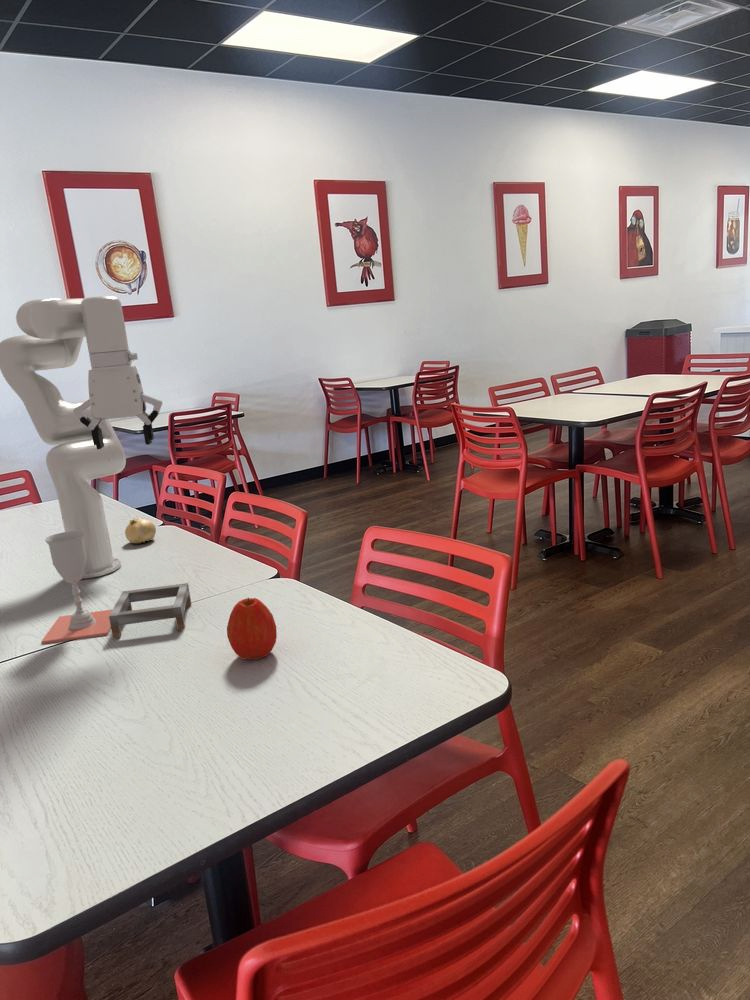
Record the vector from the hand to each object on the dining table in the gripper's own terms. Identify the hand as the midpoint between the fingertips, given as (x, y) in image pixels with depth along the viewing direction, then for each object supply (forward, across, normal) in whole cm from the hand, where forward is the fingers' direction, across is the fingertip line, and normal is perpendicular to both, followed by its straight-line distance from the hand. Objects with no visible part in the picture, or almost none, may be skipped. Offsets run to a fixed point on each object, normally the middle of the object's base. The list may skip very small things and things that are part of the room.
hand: (124, 445), depth 145 cm
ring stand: (+33, -4, +15) cm, 36 cm away
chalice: (+32, +10, +14) cm, 37 cm away
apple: (+32, -24, +37) cm, 55 cm away
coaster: (+33, +10, +14) cm, 37 cm away
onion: (+34, +10, -43) cm, 56 cm away
